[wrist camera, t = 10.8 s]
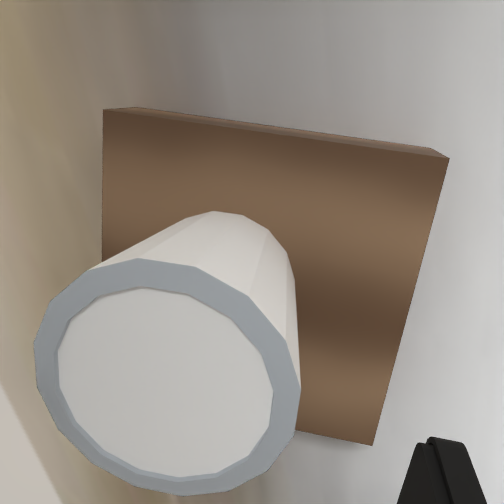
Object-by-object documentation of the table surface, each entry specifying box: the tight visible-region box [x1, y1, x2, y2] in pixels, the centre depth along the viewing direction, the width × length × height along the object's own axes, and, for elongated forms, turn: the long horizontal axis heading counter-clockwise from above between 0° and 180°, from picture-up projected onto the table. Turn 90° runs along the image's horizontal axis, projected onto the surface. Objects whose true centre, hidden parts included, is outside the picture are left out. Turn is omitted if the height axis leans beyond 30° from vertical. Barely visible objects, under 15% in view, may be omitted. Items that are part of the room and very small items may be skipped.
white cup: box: [34, 211, 301, 496], centre depth 14 cm, size 7×7×7 cm
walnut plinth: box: [102, 107, 450, 446], centre depth 19 cm, size 12×12×3 cm
